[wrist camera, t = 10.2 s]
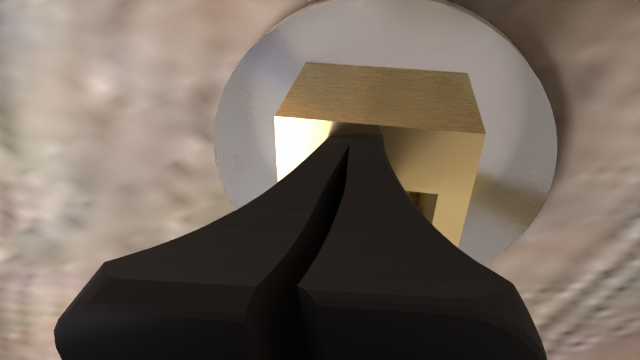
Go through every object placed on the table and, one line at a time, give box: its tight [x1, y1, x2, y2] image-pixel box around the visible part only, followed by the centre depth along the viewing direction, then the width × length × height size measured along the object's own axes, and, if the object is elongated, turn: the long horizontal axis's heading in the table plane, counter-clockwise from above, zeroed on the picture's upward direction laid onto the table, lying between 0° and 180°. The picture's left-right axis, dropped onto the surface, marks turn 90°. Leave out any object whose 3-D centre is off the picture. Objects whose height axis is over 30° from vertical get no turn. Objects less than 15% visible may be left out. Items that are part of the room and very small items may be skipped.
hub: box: [214, 0, 558, 265], centre depth 15 cm, size 12×12×4 cm
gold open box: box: [274, 62, 486, 247], centre depth 14 cm, size 5×7×4 cm
